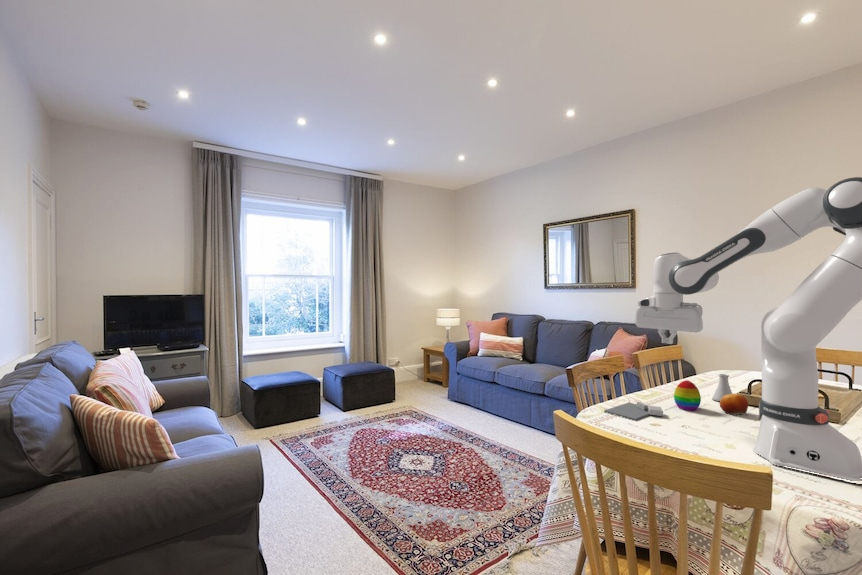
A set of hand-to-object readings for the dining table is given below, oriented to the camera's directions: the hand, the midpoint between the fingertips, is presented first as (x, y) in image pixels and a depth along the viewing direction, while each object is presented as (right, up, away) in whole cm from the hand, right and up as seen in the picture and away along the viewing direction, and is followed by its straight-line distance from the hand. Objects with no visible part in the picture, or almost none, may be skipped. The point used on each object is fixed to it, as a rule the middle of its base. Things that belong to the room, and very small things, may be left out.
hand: (667, 343), depth 137 cm
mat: (-8, -25, +7) cm, 27 cm away
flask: (+33, -25, +20) cm, 46 cm away
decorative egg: (+13, -25, +11) cm, 30 cm away
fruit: (+26, -25, +5) cm, 37 cm away
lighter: (-4, -24, +2) cm, 24 cm away
